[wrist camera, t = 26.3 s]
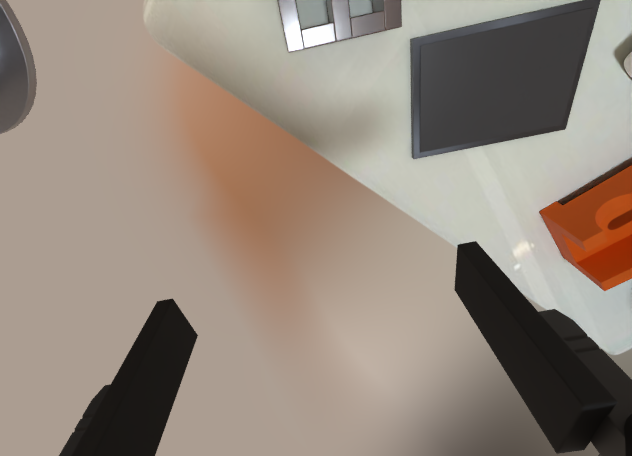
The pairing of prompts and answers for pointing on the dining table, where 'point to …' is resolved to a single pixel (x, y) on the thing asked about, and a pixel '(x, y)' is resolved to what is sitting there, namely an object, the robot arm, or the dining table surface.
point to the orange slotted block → (597, 230)
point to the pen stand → (338, 23)
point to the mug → (628, 64)
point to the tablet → (498, 78)
